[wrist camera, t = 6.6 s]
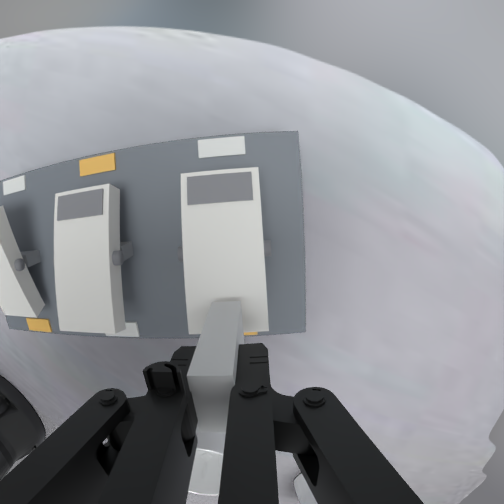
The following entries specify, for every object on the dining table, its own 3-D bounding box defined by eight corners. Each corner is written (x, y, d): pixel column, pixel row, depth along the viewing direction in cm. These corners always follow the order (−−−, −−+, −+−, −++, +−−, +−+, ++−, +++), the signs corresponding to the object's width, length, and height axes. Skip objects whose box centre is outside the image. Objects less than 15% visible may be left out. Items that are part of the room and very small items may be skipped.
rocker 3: (188, 328, 18) (180, 335, 16) (180, 181, 18) (173, 173, 16) (274, 325, 18) (276, 331, 16) (264, 175, 18) (265, 165, 16)
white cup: (178, 423, 31) (160, 487, 21) (177, 372, 29) (152, 440, 19) (244, 432, 31) (242, 499, 21) (253, 383, 29) (253, 454, 20)
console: (39, 307, 28) (-2, 335, 20) (19, 184, 25) (-31, 188, 17) (295, 302, 27) (309, 343, 20) (287, 143, 24) (302, 125, 17)
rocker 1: (10, 303, 20) (1, 316, 19) (-30, 214, 16) (-43, 225, 14) (48, 304, 20) (39, 319, 19) (6, 204, 16) (-9, 215, 14)
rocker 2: (68, 326, 18) (54, 330, 16) (63, 198, 18) (49, 194, 17) (131, 329, 18) (119, 334, 16) (125, 188, 18) (113, 181, 16)
